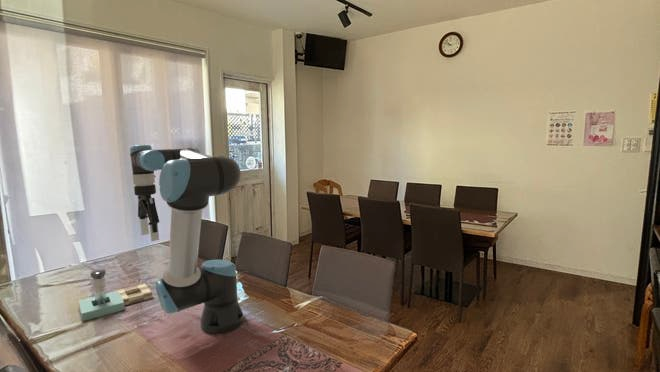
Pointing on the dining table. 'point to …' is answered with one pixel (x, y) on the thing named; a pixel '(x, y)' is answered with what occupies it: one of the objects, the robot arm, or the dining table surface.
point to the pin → (99, 287)
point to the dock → (101, 306)
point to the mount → (135, 294)
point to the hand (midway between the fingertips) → (150, 237)
